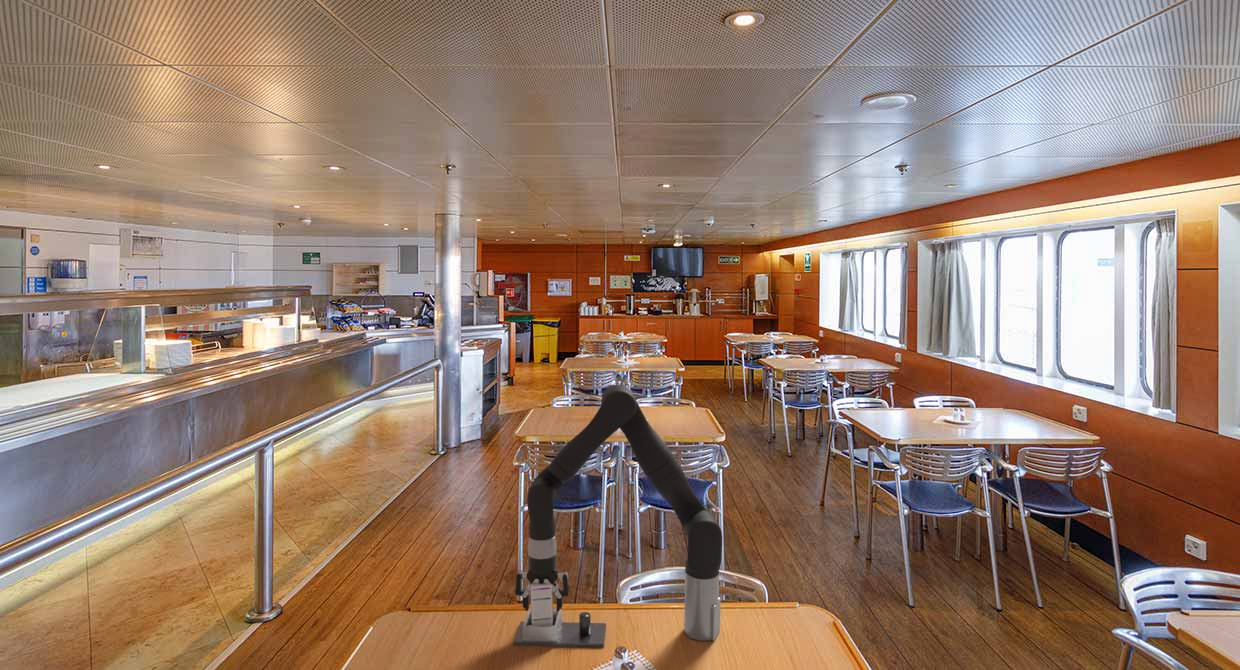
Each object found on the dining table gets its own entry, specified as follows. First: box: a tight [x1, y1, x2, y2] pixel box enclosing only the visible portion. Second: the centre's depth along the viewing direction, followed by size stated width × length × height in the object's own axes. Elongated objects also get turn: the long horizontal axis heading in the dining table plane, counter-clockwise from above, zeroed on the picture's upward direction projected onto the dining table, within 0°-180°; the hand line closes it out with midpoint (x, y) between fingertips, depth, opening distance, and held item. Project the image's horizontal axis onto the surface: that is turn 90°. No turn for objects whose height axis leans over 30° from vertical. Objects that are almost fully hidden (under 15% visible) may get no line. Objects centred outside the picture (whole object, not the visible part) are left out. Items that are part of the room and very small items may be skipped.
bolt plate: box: [513, 608, 607, 648], centre depth 171 cm, size 24×10×6 cm, turn 88°
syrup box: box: [530, 582, 554, 626], centre depth 170 cm, size 6×6×14 cm
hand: (542, 609), depth 170 cm, fingers open, 8 cm apart
